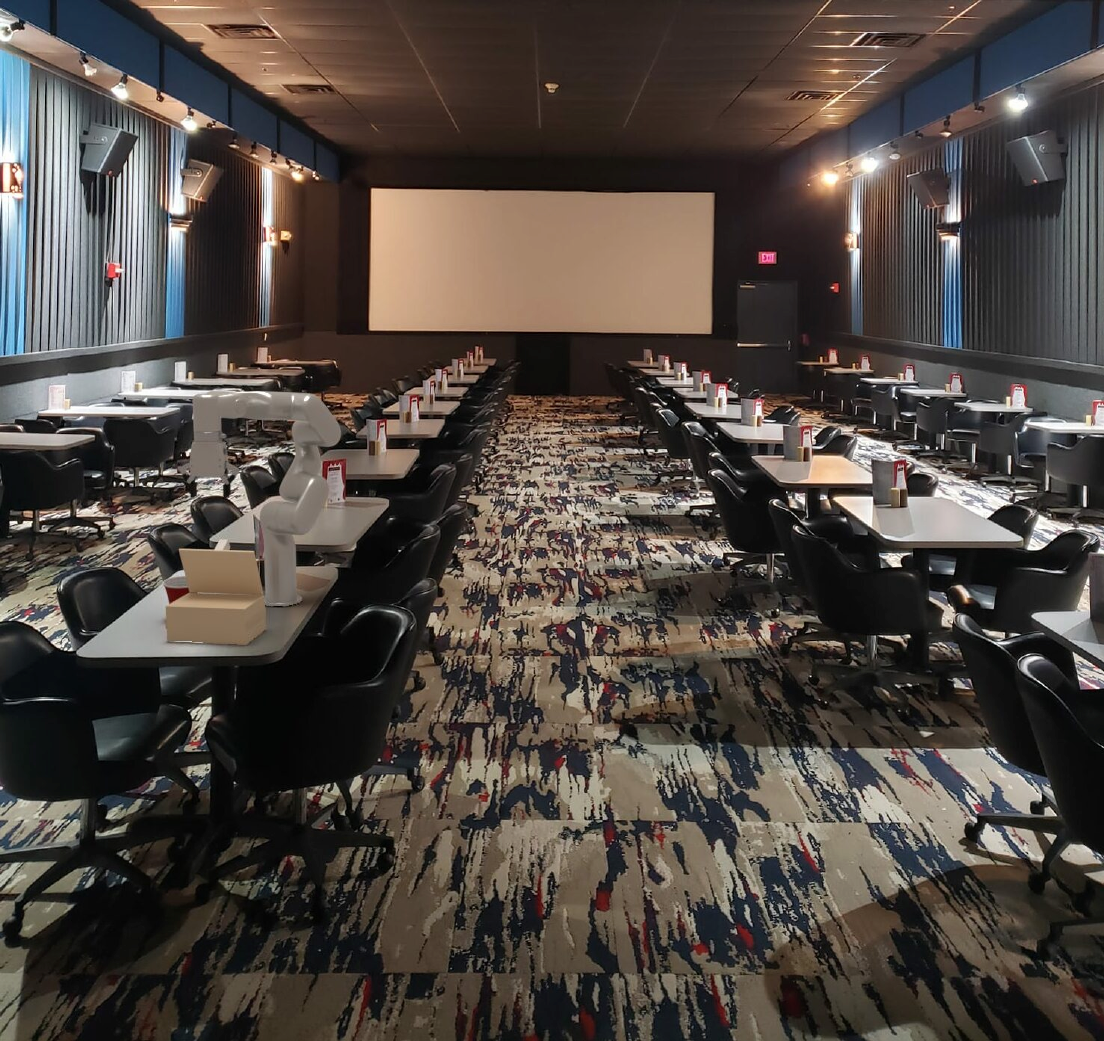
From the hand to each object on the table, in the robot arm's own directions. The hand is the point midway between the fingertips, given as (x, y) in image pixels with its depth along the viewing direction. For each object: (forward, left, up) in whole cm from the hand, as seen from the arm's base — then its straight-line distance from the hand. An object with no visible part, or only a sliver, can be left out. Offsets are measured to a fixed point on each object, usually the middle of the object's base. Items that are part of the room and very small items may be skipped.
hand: (210, 497), depth 336 cm
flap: (+12, +7, -19) cm, 24 cm away
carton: (+16, +7, -36) cm, 40 cm away
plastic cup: (+1, -9, -36) cm, 38 cm away
